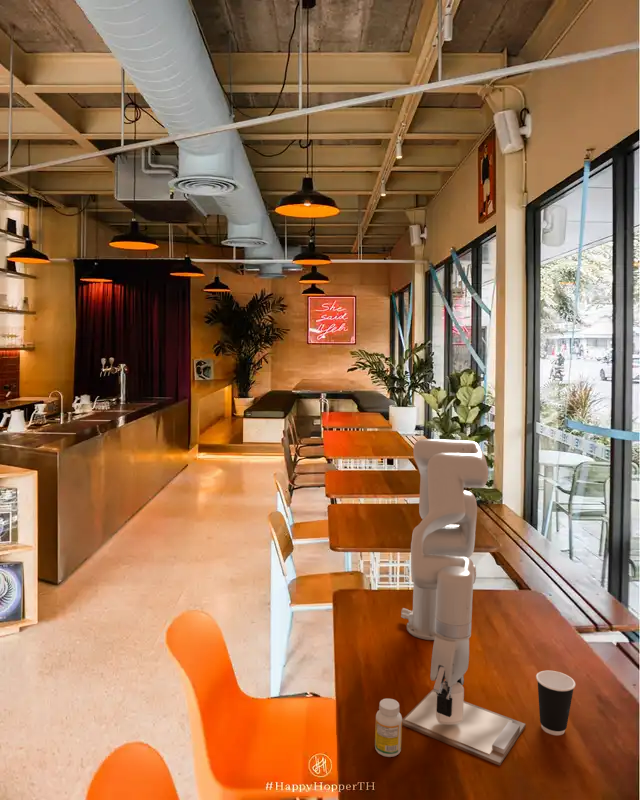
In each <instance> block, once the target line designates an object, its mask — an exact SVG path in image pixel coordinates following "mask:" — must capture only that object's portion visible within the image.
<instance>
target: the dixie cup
mask: <svg viewBox="0 0 640 800" xmlns="http://www.w3.org/2000/svg"><path fill="white" fill-rule="evenodd" d="M535 679H536V681H537V693H538V695H537V696H538V697H537V698H538V711H539V723H540V726H541V729H542V730H543V732H545V733H547V734H549V735H552V736H562V735H564V734H565V733H566V732H565V731H566V729H567V727H568V721H569V716H570V710H571V706H572V705H571V704H572V701H573V700H572V699H573V694H574V689H575V687H576V681H575V680H574V679H573V678H572V677H571V676H569V675H568V674H565V673H563V672H560V671H555V670H548V669H547V670H542V671H539V672H537V673H536V675H535Z"/></svg>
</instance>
